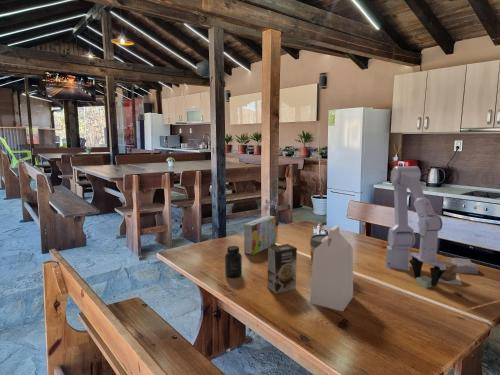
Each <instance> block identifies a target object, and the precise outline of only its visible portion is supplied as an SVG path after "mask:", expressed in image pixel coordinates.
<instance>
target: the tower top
mask: <svg viewBox="0 0 500 375" xmlns="http://www.w3.org/2000/svg"><path fill="white" fill-rule="evenodd" d="M441 262H442V263H444V264H446V270H445V271H444V273H446V274H450V273H455V272H457V265H456V264H454V263H451V262H448V261H447V260H443V261H442V260H441Z"/></svg>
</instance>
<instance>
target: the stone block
mask: <svg viewBox="0 0 500 375" xmlns="http://www.w3.org/2000/svg"><path fill="white" fill-rule="evenodd" d="M446 261H448V262H451V263H454V264H456V265H457V273H459V274H472V275H478V274H479V266H478V264H476V263H474V262H472V261H471V259H466V258H460V257H453V258H452V257H451V258H448V259H447V260H446Z"/></svg>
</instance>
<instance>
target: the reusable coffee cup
mask: <svg viewBox="0 0 500 375" xmlns="http://www.w3.org/2000/svg"><path fill="white" fill-rule="evenodd" d="M328 235H329V233H328V234H327V233H326V234H325V233H319V234H318V233H317V234H314V235H311V236H310V240H309V241H310V242H309V245H310V252H309V253H310V259H311V262H312V263H313V252H314V250H315V249H316V248H317V247H318V246H319V245H320V244H322V241H321V240H322V239H323V238H324V237H326V236H328Z"/></svg>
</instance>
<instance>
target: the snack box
mask: <svg viewBox="0 0 500 375" xmlns="http://www.w3.org/2000/svg"><path fill="white" fill-rule="evenodd" d="M276 233H277V232H276V216H274V215H273V216H272V215H266V216H263V217H259V218H257V219H254V220H252V221H249V222H246V223H244V224H243V244H244V247H243V248H244V250H243V252H244V254H245V255H251V256H255V255H256V254H257V253H259V252H261V251H264V250H266V249H268V247H272V246H274V245H275V246H276V242H277V238H276V235H277V234H276Z"/></svg>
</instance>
